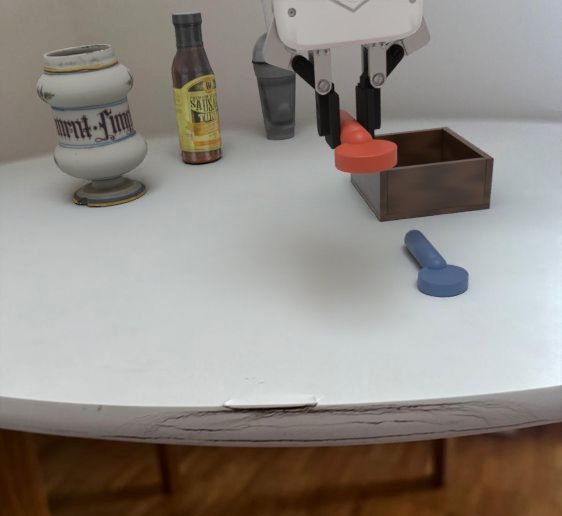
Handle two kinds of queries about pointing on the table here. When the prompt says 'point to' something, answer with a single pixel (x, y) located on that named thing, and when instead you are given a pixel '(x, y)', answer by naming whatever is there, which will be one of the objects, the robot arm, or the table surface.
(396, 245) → the table surface
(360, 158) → the red spoon
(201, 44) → the sauce bottle
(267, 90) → the beverage cup
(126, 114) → the apothecary jar
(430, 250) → the blue spoon
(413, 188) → the bin
